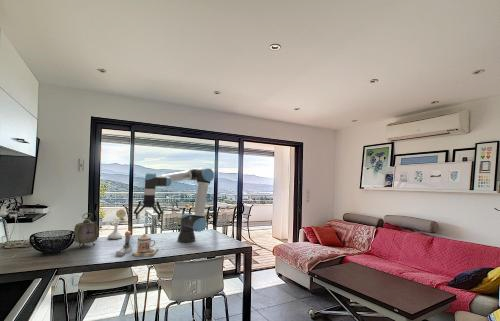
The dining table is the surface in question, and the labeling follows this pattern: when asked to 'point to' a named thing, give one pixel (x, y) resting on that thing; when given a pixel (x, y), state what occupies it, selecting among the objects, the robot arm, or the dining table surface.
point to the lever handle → (127, 239)
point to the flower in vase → (115, 233)
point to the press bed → (149, 253)
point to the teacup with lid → (144, 243)
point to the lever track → (123, 251)
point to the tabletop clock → (86, 231)
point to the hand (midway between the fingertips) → (147, 224)
